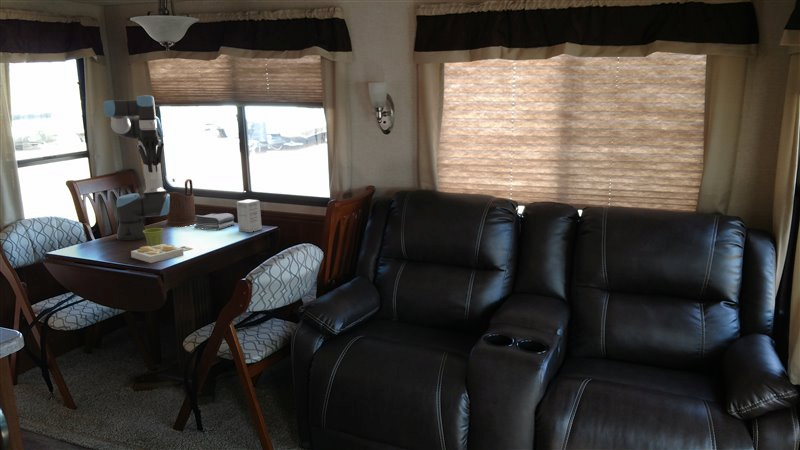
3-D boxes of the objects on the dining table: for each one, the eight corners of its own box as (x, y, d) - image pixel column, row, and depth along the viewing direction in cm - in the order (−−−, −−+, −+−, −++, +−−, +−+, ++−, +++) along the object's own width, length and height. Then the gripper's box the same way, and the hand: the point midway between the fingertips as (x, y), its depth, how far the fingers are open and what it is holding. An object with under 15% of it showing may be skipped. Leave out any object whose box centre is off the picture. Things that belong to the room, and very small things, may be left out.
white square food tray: (131, 257, 288) (130, 251, 287) (164, 249, 301) (163, 243, 300) (150, 263, 278) (150, 256, 277) (183, 254, 291) (182, 248, 290)
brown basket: (159, 227, 352) (154, 184, 346) (180, 218, 375) (176, 178, 369) (188, 227, 349) (184, 185, 343) (208, 219, 372) (204, 178, 366)
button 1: (138, 253, 288) (137, 247, 287) (147, 251, 292) (147, 245, 291) (143, 255, 285) (143, 249, 284) (153, 253, 289) (152, 247, 288)
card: (172, 249, 300) (172, 248, 300) (184, 246, 305) (184, 245, 305) (180, 252, 296) (180, 250, 296) (192, 249, 301) (192, 247, 301)
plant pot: (152, 249, 301) (150, 233, 299) (140, 247, 306) (138, 230, 304) (168, 245, 308) (166, 229, 307) (156, 243, 313) (154, 227, 311)
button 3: (152, 253, 294) (152, 247, 293) (162, 250, 298) (161, 244, 297) (158, 254, 291) (157, 248, 290) (168, 252, 295) (167, 246, 294)
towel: (219, 231, 341) (218, 217, 339) (193, 228, 347) (192, 215, 345) (235, 225, 355) (234, 212, 353) (209, 223, 361) (208, 210, 359)
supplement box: (262, 229, 342) (260, 200, 338) (250, 232, 334) (248, 203, 330) (250, 227, 347) (248, 198, 343) (238, 230, 339) (236, 201, 335)
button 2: (146, 258, 284) (146, 252, 283) (156, 256, 288) (156, 250, 287) (152, 260, 281) (151, 254, 280) (162, 258, 285) (161, 252, 284)
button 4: (161, 252, 289) (160, 246, 289) (170, 250, 293) (169, 244, 292) (166, 254, 286) (166, 248, 286) (176, 252, 290) (175, 246, 289)
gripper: (139, 130, 276) (145, 181, 281) (165, 128, 286) (170, 177, 291) (131, 129, 280) (136, 180, 285) (156, 128, 290) (161, 176, 295)
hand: (153, 178), depth 288 cm, fingers closed
